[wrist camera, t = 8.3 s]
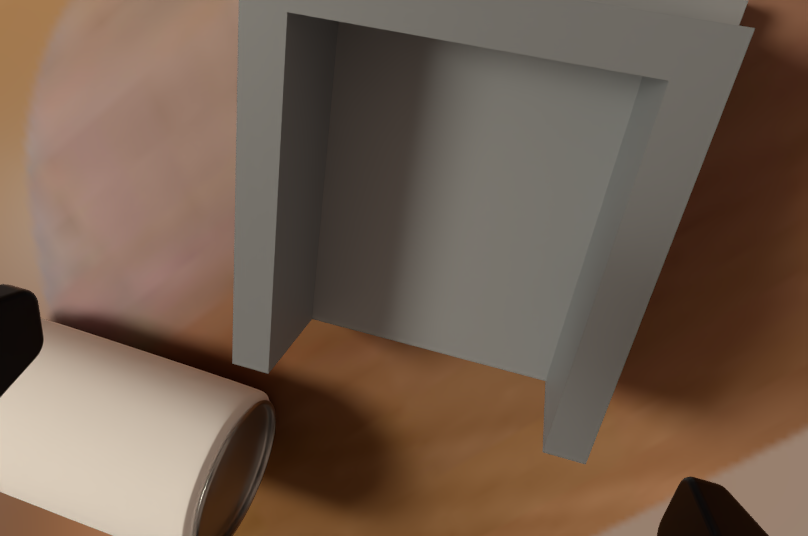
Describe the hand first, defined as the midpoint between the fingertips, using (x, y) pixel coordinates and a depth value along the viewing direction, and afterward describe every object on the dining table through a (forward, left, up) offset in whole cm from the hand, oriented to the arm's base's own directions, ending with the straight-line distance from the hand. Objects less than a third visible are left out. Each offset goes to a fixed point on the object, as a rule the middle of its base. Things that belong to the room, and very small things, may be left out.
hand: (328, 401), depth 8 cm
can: (-12, +5, -9) cm, 16 cm away
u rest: (0, 0, -12) cm, 12 cm away
